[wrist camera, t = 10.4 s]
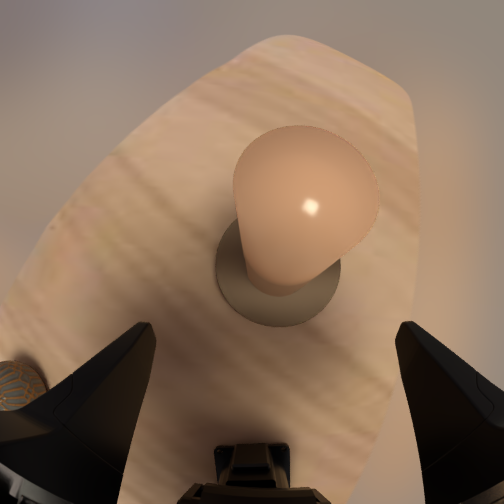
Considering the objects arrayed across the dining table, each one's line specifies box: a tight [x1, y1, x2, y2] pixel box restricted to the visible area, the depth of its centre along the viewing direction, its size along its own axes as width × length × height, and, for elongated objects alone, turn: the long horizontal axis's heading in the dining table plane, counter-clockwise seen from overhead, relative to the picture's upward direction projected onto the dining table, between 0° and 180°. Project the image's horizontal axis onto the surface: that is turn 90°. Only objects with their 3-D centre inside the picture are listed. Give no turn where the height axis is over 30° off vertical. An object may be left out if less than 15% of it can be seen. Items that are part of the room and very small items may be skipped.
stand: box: [216, 218, 341, 327], centre depth 23 cm, size 10×10×2 cm
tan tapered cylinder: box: [233, 126, 379, 297], centre depth 15 cm, size 5×5×13 cm
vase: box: [0, 361, 47, 411], centre depth 16 cm, size 7×7×9 cm
